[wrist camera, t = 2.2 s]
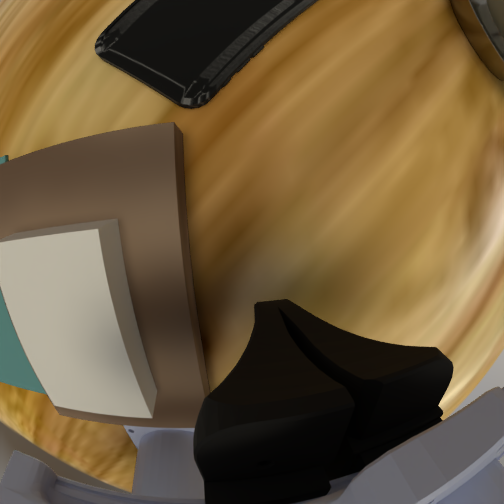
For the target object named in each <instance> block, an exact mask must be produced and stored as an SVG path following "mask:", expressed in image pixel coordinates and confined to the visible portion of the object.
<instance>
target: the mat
mask: <svg viewBox="0 0 504 504" xmlns="http://www.w3.org/2000/svg"><path fill="white" fill-rule="evenodd" d="M7 161H8V155H5V156H3V157H0V164H2V163H5V162H7ZM0 382H3V383H6V384H10V385H13V386H16V387H20V388H24V389H27V390H31V391H35V392H39V393H44V394H46V392H45V391H44V389H43V387H42V385H41V384H40V382H39V380H38V378H37V376H36V375H35V373H34V371H33V369H32V367H31V365H30V363H29V361H28V359H27V357H26V355H25V352H24V350H23V348H22V346H21V344H20V341H19V339H18V337H17V334H16V332H15V329H14V327H13V324H12V322H11V319H10V316H9V314H8V311H7V308H6V305H5V302H4V299H3V296H2V293H1V289H0Z"/></svg>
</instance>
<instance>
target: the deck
mask: <svg viewBox="0 0 504 504" xmlns="http://www.w3.org/2000/svg"><path fill="white" fill-rule="evenodd" d="M110 219H118V225H119V233H120V240H121V247H122V254H123V260H124V265H125V271H126V276H127V282H128V287H129V291H130V296H131V301H132V305H133V309H134V314H135V318H136V322H137V326H138V330H139V333H140V337H141V341H142V344H143V348H144V351H145V355H146V358H147V361H148V364H149V368H150V371H151V374H152V377H153V380H154V383H155V386H156V389H157V395H156V401H155V406H154V412H153V418H137V417H125V416H115V415H106V414H98V413H91V412H85V411H79V410H73V409H68V408H63V407H58V406H54V407H55V408H56V410H57V412H58V413H59V415H63V416H67V417H72V418H77V419H83V420H88V421H95V422H101V423H109V424H117V425H126V426H138V427H154V428H195V425H196V421H197V417H198V414H199V411H200V409H201V406H202V403H203V401H204V398H205V397H207V396H208V395H209V394H210V388H209V383H208V377H207V372H206V366H205V360H204V354H203V348H202V342H201V335H200V329H199V322H198V315H197V307H196V300H195V292H194V284H193V275H192V266H191V256H190V246H189V235H188V223H187V210H186V196H185V179H184V156H183V133H182V132H181V131H180V129H179V128H178V127H177V125H176V124H175V123H174V122H171V123H162V124H154V125H147V126H140V127H134V128H128V129H122V130H117V131H112V132H107V133H102V134H97V135H93V136H88V137H84V138H80V139H76V140H72V141H68V142H65V143H61V144H58V145H54V146H51V147H47V148H44V149H41V150H38V151H35V152H32V153H29V154H26V155H23V156H21V157H18V158H15V159H12V160H10V161H7V162H5V163H2V164H0V239H3V238H5V237H7V236H10V235H12V234H14V233H19V232H25V231H31V230H37V229H43V228H50V227H56V226H63V225H71V224H78V223H85V222H93V221H101V220H110ZM0 289H1V287H0ZM1 293H2V290H1ZM2 296H3V293H2ZM3 299H4V296H3ZM4 302H5V300H4ZM5 305H6V303H5ZM6 308H7V306H6ZM7 311H8V309H7ZM8 314H9V311H8ZM9 316H10V314H9ZM10 319H11V317H10ZM11 322H12V320H11ZM12 324H13V322H12ZM13 327H14V325H13ZM14 329H15V327H14ZM15 332H16V330H15ZM16 334H17V332H16ZM17 337H18V335H17ZM18 339H19V337H18ZM19 341H20V339H19ZM20 344H21V342H20ZM21 346H22V344H21ZM22 348H23V346H22ZM23 350H24V349H23ZM24 352H25V351H24ZM25 355H26V353H25ZM26 357H27V355H26ZM27 359H28V357H27ZM28 361H29V359H28ZM29 363H30V361H29ZM30 365H31V363H30ZM31 367H32V365H31ZM32 369H33V367H32ZM33 371H34V369H33ZM34 373H35V371H34ZM35 375H36V373H35ZM36 376H37V375H36ZM37 378H38V377H37ZM38 380H39V379H38ZM39 382H40V380H39ZM40 384H41V382H40ZM41 385H42V384H41ZM42 387H43V386H42ZM43 389H44V388H43ZM44 391H45V389H44ZM45 392H46V391H45ZM46 394H47V393H46ZM47 396H48V394H47ZM48 397H49V396H48ZM49 399H50V398H49ZM50 401H51V399H50ZM51 402H52V401H51ZM52 404H53V403H52ZM53 405H54V404H53Z"/></svg>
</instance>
